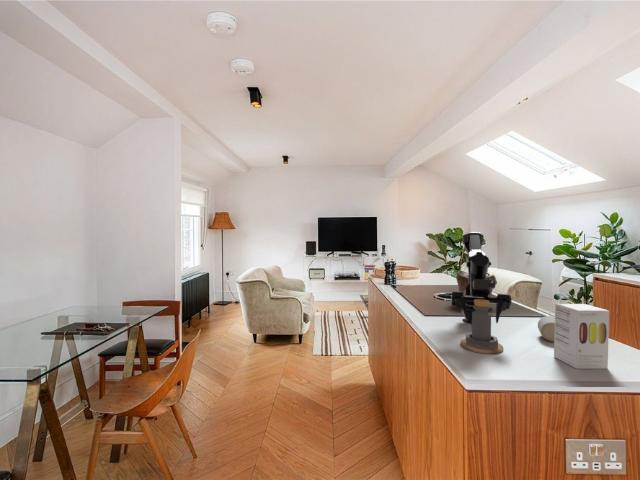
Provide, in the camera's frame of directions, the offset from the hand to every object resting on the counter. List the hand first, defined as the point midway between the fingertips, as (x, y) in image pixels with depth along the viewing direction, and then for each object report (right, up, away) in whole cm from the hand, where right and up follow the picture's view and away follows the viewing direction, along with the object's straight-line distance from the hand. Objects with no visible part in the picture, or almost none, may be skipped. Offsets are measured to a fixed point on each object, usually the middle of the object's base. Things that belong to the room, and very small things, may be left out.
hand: (481, 321), depth 111 cm
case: (+27, -7, +62) cm, 68 cm away
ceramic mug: (+30, -9, +8) cm, 33 cm away
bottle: (0, -8, +1) cm, 8 cm away
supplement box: (+23, -9, -13) cm, 28 cm away
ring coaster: (0, -9, +1) cm, 9 cm away
